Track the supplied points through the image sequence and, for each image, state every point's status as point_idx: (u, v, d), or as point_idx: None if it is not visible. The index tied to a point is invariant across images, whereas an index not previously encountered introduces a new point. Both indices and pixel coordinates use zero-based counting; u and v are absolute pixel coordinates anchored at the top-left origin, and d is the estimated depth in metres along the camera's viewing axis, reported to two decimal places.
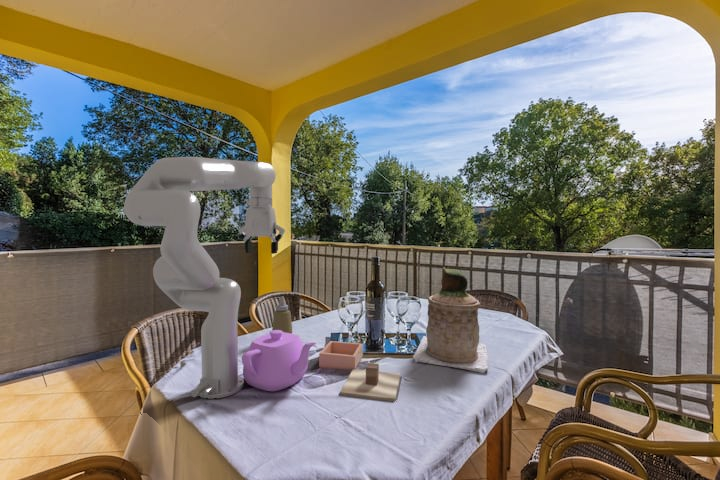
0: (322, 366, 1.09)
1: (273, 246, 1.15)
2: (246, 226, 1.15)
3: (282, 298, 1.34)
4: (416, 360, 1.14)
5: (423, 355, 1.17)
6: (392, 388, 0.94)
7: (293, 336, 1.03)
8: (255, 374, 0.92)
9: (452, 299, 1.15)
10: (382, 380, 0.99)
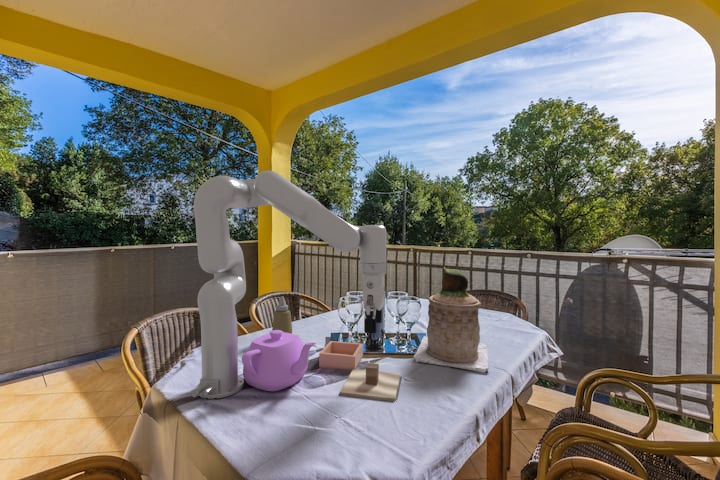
0: (322, 366, 1.09)
1: None
2: (380, 299, 0.92)
3: (282, 298, 1.34)
4: (417, 360, 1.14)
5: (423, 355, 1.17)
6: (392, 388, 0.94)
7: (293, 336, 1.03)
8: (255, 374, 0.92)
9: (453, 299, 1.15)
10: (382, 380, 0.99)
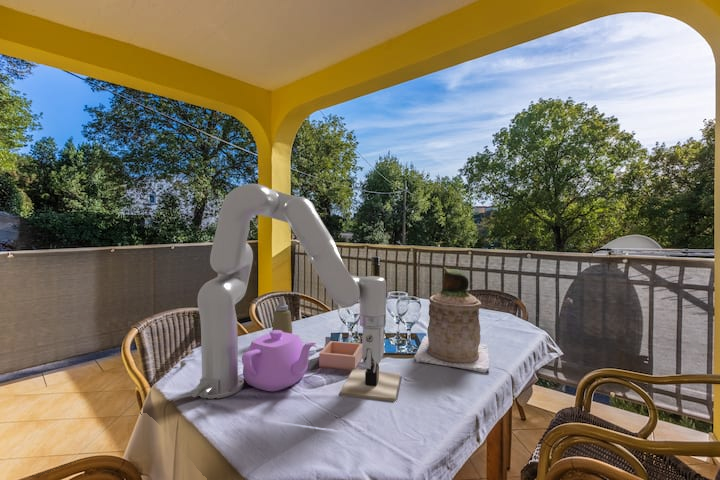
0: (322, 366, 1.09)
1: None
2: (379, 352, 0.93)
3: (282, 298, 1.34)
4: (417, 360, 1.14)
5: (424, 355, 1.17)
6: (392, 388, 0.94)
7: (293, 336, 1.03)
8: (255, 374, 0.92)
9: (454, 299, 1.15)
10: (382, 380, 0.99)
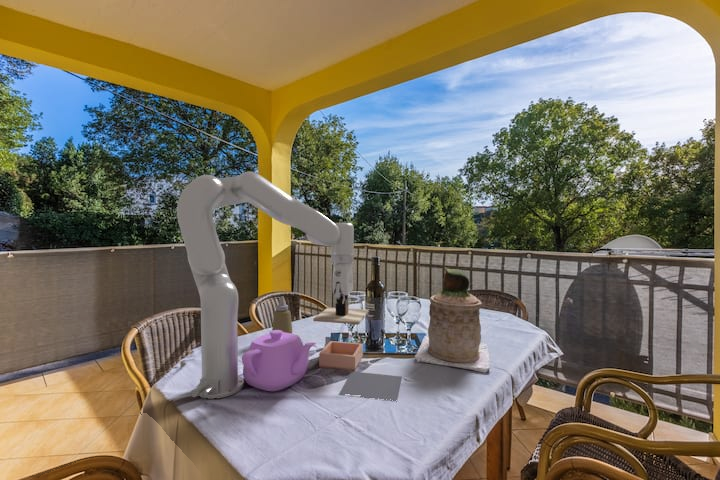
0: (322, 366, 1.09)
1: None
2: (346, 285, 1.08)
3: (282, 298, 1.34)
4: (418, 360, 1.14)
5: (424, 355, 1.17)
6: (358, 317, 1.10)
7: (293, 336, 1.03)
8: (255, 374, 0.92)
9: (454, 299, 1.15)
10: (351, 313, 1.14)
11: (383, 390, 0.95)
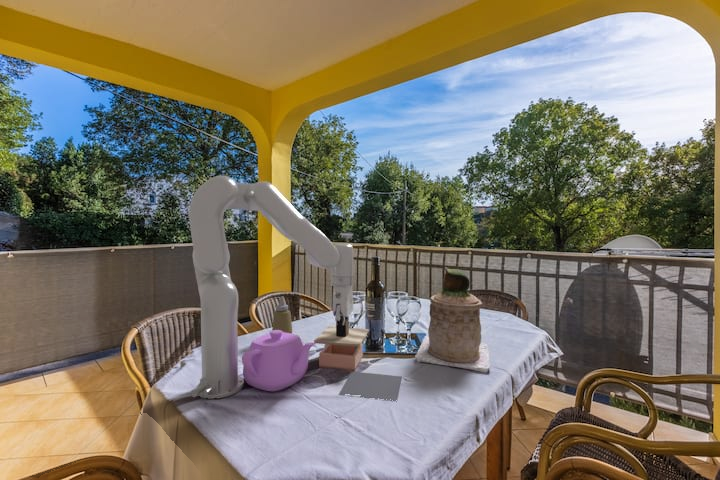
0: (322, 366, 1.09)
1: None
2: (346, 307, 1.09)
3: (282, 298, 1.34)
4: (418, 360, 1.14)
5: (425, 355, 1.17)
6: (359, 338, 1.10)
7: (293, 336, 1.03)
8: (255, 374, 0.92)
9: (455, 299, 1.15)
10: (352, 333, 1.15)
11: (383, 390, 0.95)
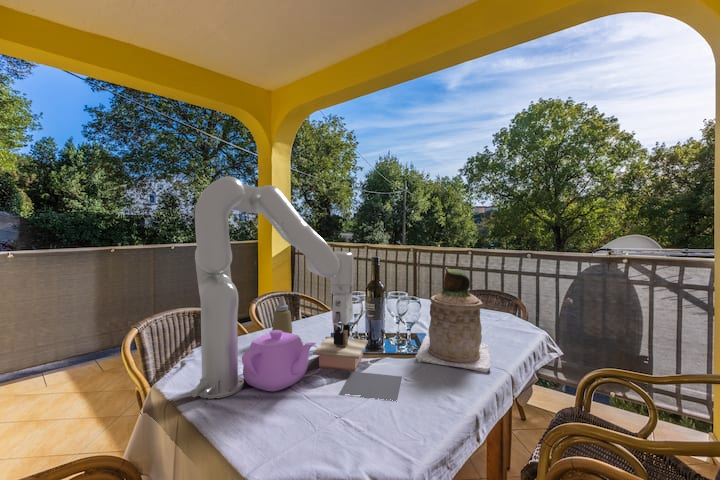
0: (322, 366, 1.09)
1: None
2: (346, 315, 1.09)
3: (282, 298, 1.34)
4: (419, 360, 1.14)
5: (425, 355, 1.17)
6: (358, 350, 1.10)
7: (293, 336, 1.03)
8: (255, 374, 0.92)
9: (455, 299, 1.15)
10: (351, 344, 1.15)
11: (383, 390, 0.95)
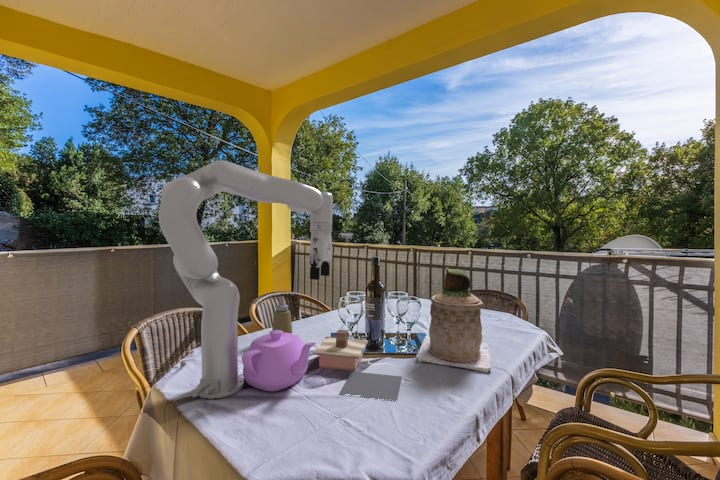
0: (322, 366, 1.09)
1: None
2: (323, 251, 1.12)
3: (282, 298, 1.34)
4: (419, 360, 1.14)
5: (426, 355, 1.17)
6: (358, 350, 1.10)
7: (293, 336, 1.03)
8: (255, 374, 0.92)
9: (455, 299, 1.15)
10: (351, 344, 1.15)
11: (383, 390, 0.95)
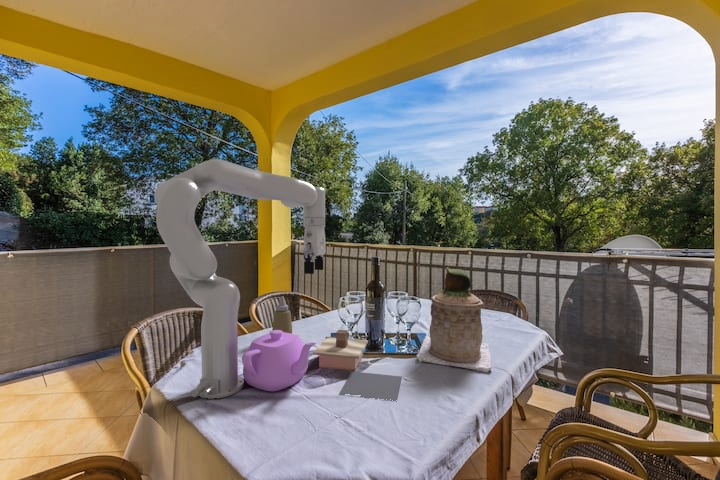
0: (322, 366, 1.09)
1: None
2: (317, 246, 1.13)
3: (282, 298, 1.34)
4: (420, 360, 1.14)
5: (426, 355, 1.17)
6: (358, 350, 1.10)
7: (293, 336, 1.03)
8: (255, 374, 0.92)
9: (456, 299, 1.15)
10: (351, 344, 1.15)
11: (383, 390, 0.95)
